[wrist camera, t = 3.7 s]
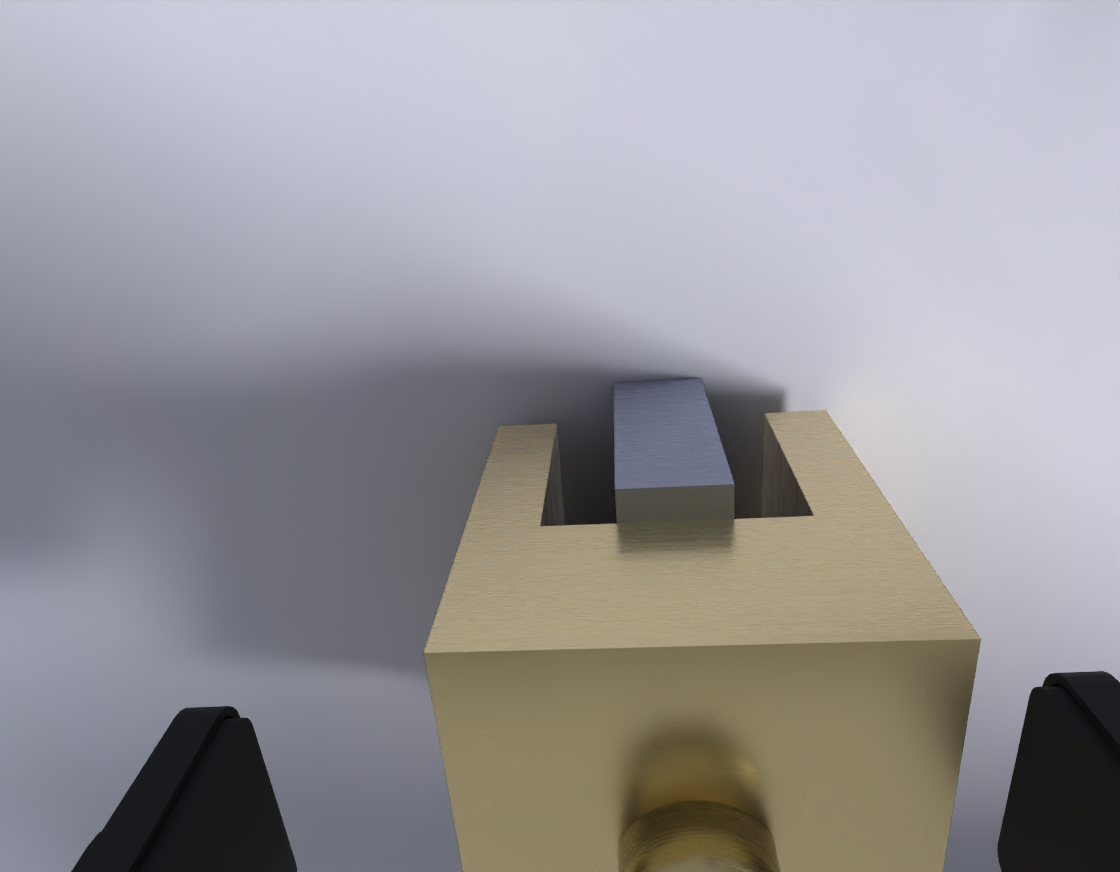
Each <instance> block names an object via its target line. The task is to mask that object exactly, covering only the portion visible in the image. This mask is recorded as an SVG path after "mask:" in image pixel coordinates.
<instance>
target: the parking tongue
mask: <svg viewBox="0 0 1120 872" xmlns="http://www.w3.org/2000/svg"><path fill="white" fill-rule="evenodd" d="M614 461H615V501H616V519H617V523H643V522H669V521H696V520H722V519H734V495H735V484H734V481H733V477H732V474H731V471H730V468H729V465H728V462H727V459H726V455H725V452H724V449H723V446H722V443H721V440H720V437H719V433H718V430H717V427H716V424H715V421H714V418H713V415H712V411H711V408H710V405H709V402H708V399H707V396H706V392H705V389H704V386H703V383H702V380H701V378H695V379H676V380H657V381H639V382H620V383H614Z"/></svg>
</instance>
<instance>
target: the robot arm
mask: <svg viewBox="0 0 1120 872" xmlns="http://www.w3.org/2000/svg"><path fill="white" fill-rule="evenodd" d="M998 859H999V864H1000V867H1001V871H1002V872H1120V682H1119V681H1118V680H1117V679H1115V678H1114V677H1113V676H1112V675H1111V674H1109V673H1106V672H1104V671H1098V672H1073V673H1054V674H1049V675H1048V676H1047V677H1046V678H1045V681H1044V684H1043V686H1042V687H1035V688H1034V689H1033V690H1032V691H1031V694H1030V697H1029V701H1028V706H1027V711H1026V715H1025V720H1024V725H1023V729H1022V734H1021V739H1020V743H1019V748H1018V753H1017V757H1016V762H1015V767H1014V771H1013V776H1012V781H1011V785H1010V790H1009V795H1008V799H1007V804H1006V808H1005V813H1004V818H1003V822H1002V827H1001V832H1000V836H999V841H998ZM72 872H297V867H296V862H295V859H294V856H293V852H292V849H291V846H290V843H289V840H288V836H287V833H286V830H285V827H284V824H283V820H282V817H281V814H280V811H279V808H278V804H277V801H276V798H275V795H274V792H273V788H272V785H271V782H270V779H269V776H268V772H267V769H266V766H265V763H264V760H263V757H262V753H261V750H260V747H259V744H258V741H257V737H256V734H255V731H254V728H253V725H252V723H251V721H250V720H249V719H248V718H240V716H239V714H238V712H237V710H236V709H235V708H234V707H230V706H224V707H199V708H185V709H183V710H181V711H180V712H179V713H178V714H177V716H176V717H175V718H174V720H173V721H172V723H171V724H170V726H169V727H168V729H167V730H166V732H165V734H164V735H163V737H162V738H161V740H160V741H159V743H158V745H157V746H156V748H155V749H154V751H153V752H152V754H151V755H150V757H149V759H148V760H147V762H146V763H145V765H144V766H143V768H142V769H141V771H140V773H139V774H138V776H137V777H136V779H135V780H134V782H133V784H132V785H131V787H130V788H129V790H128V791H127V793H126V794H125V796H124V798H123V799H122V801H121V802H120V804H119V805H118V807H117V809H116V810H115V812H114V813H113V815H112V816H111V818H110V819H109V821H108V823H107V824H106V826H105V827H104V829H103V830H102V831H101V832H100V833H99V834H97V836H96V837H95V838H94V839H93V841H92V842H91V843H90V844H89V846H88V847H87V848H86V850H85V851H84V853H83V855H82V856H81V858H80V859H79V861H78V862H77V864H76V865H75V867H74V868H73V870H72Z"/></svg>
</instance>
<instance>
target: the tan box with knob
mask: <svg viewBox="0 0 1120 872" xmlns="http://www.w3.org/2000/svg"><path fill="white" fill-rule="evenodd" d="M980 641H981V638H980V637H979V635H978V634H977V632H976V631H975V630H974V628H973V627H972V625H971V624H970V622H969V621H968V619H967V618H966V616H965V615H964V613H963V612H962V610H961V609H960V607H959V606H958V604H957V603H956V601H955V600H954V599H953V597H952V596H951V594H950V593H949V591H948V590H947V588H946V587H945V585H944V584H943V582H942V581H941V579H940V578H939V576H938V575H937V573H936V572H935V570H934V569H933V568H932V566H931V565H930V563H929V562H928V560H927V559H926V557H925V556H924V554H923V553H922V551H921V550H920V548H919V547H918V545H917V544H916V542H915V541H914V539H913V538H912V537H911V535H910V534H909V532H908V531H907V529H906V528H905V526H904V525H903V523H902V522H901V520H900V519H899V517H898V516H897V514H896V513H895V511H894V510H893V509H892V507H891V506H890V504H889V503H888V501H887V500H886V498H885V497H884V495H883V494H882V492H881V491H880V489H879V488H878V486H877V485H876V483H875V482H874V480H873V479H872V478H871V476H870V475H869V473H868V472H867V470H866V469H865V467H864V466H863V464H862V463H861V461H860V460H859V458H858V457H857V455H856V454H855V452H854V451H853V449H852V448H851V447H850V445H849V444H848V442H847V441H846V439H845V438H844V436H843V435H842V433H841V432H840V430H839V429H838V427H837V426H836V424H835V423H834V421H833V420H832V418H831V417H830V416H829V414H828V413H827V411H826V410H818V411H798V412H777V413H765V419H764V456H763V492H762V518H748V519H722V520H696V521H669V522H643V523H617V524H591V525H565V516H564V505H563V493H562V481H561V469H560V458H559V446H558V434H557V423H553V424H533V425H513V426H499V427H498V430H497V433H496V436H495V439H494V442H493V445H492V448H491V451H490V454H489V457H488V460H487V463H486V466H485V469H484V472H483V475H482V478H481V481H480V484H479V487H478V490H477V493H476V496H475V499H474V502H473V505H472V508H471V511H470V514H469V517H468V520H467V523H466V526H465V529H464V533H463V536H462V539H461V542H460V545H459V548H458V551H457V554H456V557H455V560H454V563H453V566H452V569H451V572H450V575H449V578H448V581H447V584H446V587H445V590H444V593H443V596H442V599H441V602H440V605H439V608H438V611H437V614H436V617H435V620H434V623H433V626H432V629H431V632H430V635H429V638H428V641H427V644H426V647H425V650H424V658H425V664H426V669H427V675H428V680H429V686H430V691H431V697H432V703H433V708H434V714H435V719H436V725H437V730H438V736H439V742H440V747H441V753H442V758H443V764H444V769H445V775H446V781H447V786H448V792H449V797H450V803H451V808H452V814H453V820H454V825H455V831H456V836H457V842H458V847H459V853H460V859H461V864H462V870H463V872H943V867H944V861H945V855H946V849H947V843H948V837H949V830H950V824H951V818H952V812H953V806H954V800H955V794H956V788H957V782H958V775H959V769H960V763H961V757H962V751H963V745H964V739H965V733H966V727H967V721H968V714H969V708H970V702H971V696H972V690H973V684H974V678H975V672H976V666H977V659H978V653H979V647H980Z"/></svg>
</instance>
